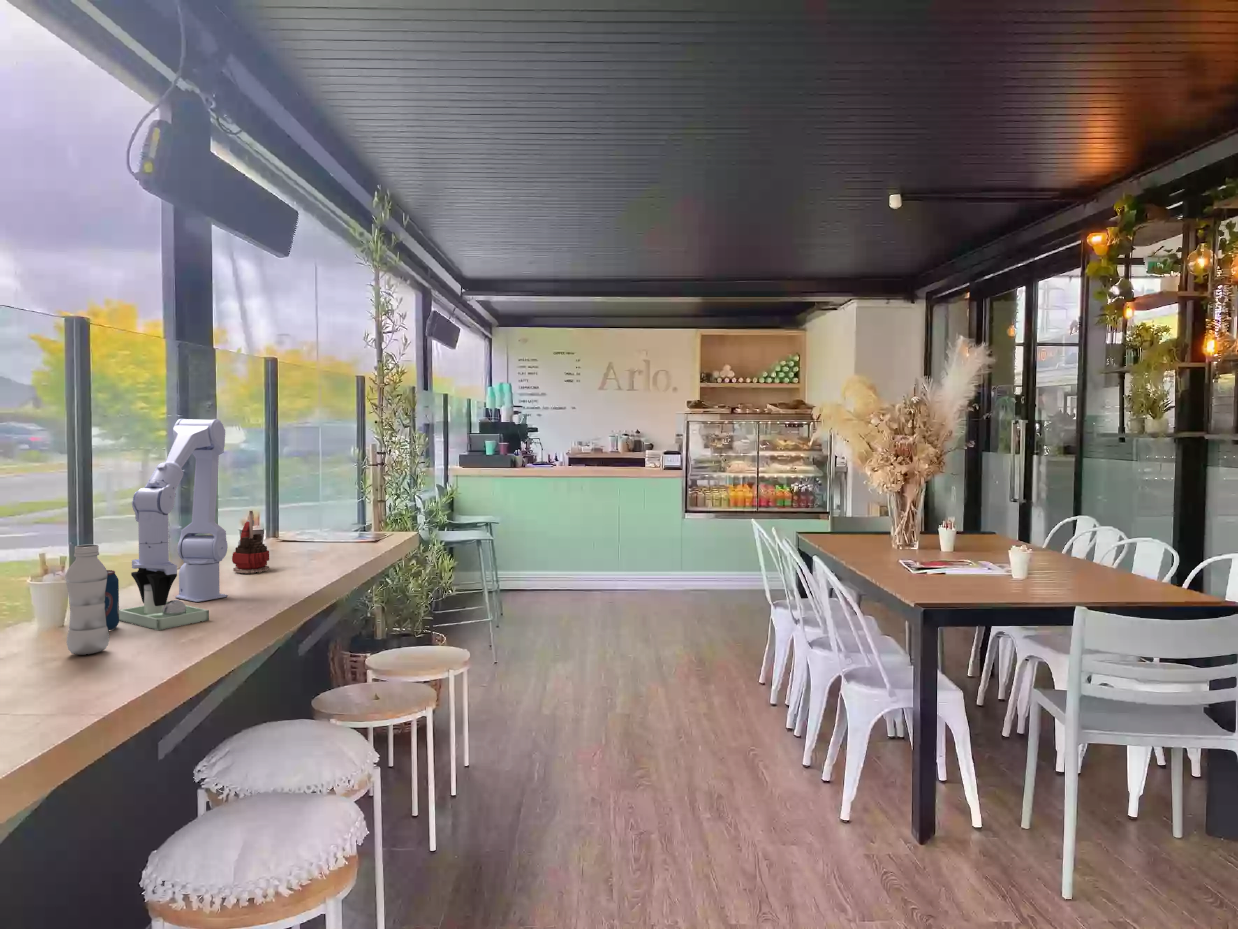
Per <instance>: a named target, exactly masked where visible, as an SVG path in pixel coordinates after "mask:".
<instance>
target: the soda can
mask: <svg viewBox="0 0 1238 929" xmlns="http://www.w3.org/2000/svg"><path fill="white" fill-rule="evenodd" d="M106 570H107V573H108V574H107V583H106V590H105V601H104V603H105V616H106V626H107V628H108V631H109V630H112V631H114V630H115V629H116V628H117V627H118V625H119V623H120V621H119V610H120V596H119V594H120V593H119V592H120V590H119V589H120V587H119V584H120V583H119V577H118V576H117V574H116V571H115V570H114V569H113V570H112V569H106ZM109 632H110V631H109Z"/></svg>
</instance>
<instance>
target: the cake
mask: <svg viewBox="0 0 1238 929" xmlns="http://www.w3.org/2000/svg"><path fill="white" fill-rule="evenodd" d="M248 513H249V519H246V521H245V523H244V525H243V526H242V529H241V533H240V538H239V540H238V542H237V543H238V544H237V546H236V547H235V549H234V550H235V551H233V552H232V556H231V559H232V560H231V562H232V563H233V564H234V565H235V567H233V572H235V573H240V574H243V573H245V574H244V575H247V574H248V573H249V575H251V574H252V573H253V574H257V573H256V572H260V573H262V571H263V572H267V571H268V570H270V566H269V565H268V561H270V551H269V550H268V547H267V545H266V544H265V543H263V541H262V540H263V536H262V534H261V533H254V530H253V529H254V525H255V520H254V519H253V518H254V517H253V516H254V515H253V514H254V512H253V510H249V512H248ZM250 573H251V574H250Z"/></svg>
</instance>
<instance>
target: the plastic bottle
mask: <svg viewBox="0 0 1238 929" xmlns="http://www.w3.org/2000/svg"><path fill="white" fill-rule="evenodd" d="M99 549H100V548H99V544H81V545H80V544H79V545H75V546H74V553H73V557H74V558H75V560H74V561H73V562H72V563H71V564H70V566H69V568H68V569H67V571H66V574H65V577H64V578H65V583H66V588H67V593H68V598H69V599H68V603H69V604H68V605H70V606H69V623H68V624H69V625H68V632H67V636H66V646H67V650H68V652H70V653H71V654H73V655H82V656H83V655H85V656H87V655H86V654H88V655H93V654H96V653H100V652H102V651H105V650H106V649H107V648H108V646H109V641H110V631H109V632H108V628H107V626H106V616H105V603H104V601H105V590H106V583H107V574H108V573H107V570H108V569H107V567H106V566H105V564H103V562H101V561H100V559H99V557H98V556H100V552H99Z"/></svg>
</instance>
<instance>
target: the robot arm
mask: <svg viewBox="0 0 1238 929" xmlns="http://www.w3.org/2000/svg"><path fill="white" fill-rule="evenodd" d="M172 431H173V433H172V434H173V440H174V441H173V443H172V445H171V448H170V451H169V453H168V455H167V458H166V459H165V461H163V462H160V463H158V464H157V465H156V467H155V469H154V470H153V472H152V474H151V475H150V477H149V478H148V480H147V482H146V484H145V486H144V487H141V488H139V490H137V491H135V492H134V494H133V496H132V501H131V506H132V510H133V512H134V516H135V522H136V523H138V526H137V527H138V558H137V559H132V560H131V569H133V570H136V569H138V570H137V571H132V572H130V575H131V577H132V578H133V580H134V582H135V583H136V586H137V588H138V591H139V594H140V598H141V601H142V603H143V604H144V585H145V584H151V587H152V592H153V601H154V604H155V606H161V605H165V604H166V602H168V598H169V594H170V591H171V587H172V585H173V583H174V581H175V579H176V578H177V576H178V594H177V595H175V598H176V599H180V600H185V601H190V602H194V603H195V602H196V603H199V602H205V601H211V600H217V599H222V598H227V597H228V594H225V593H220V591H221V590H220V588H221V587H220V562H222V561H223V560H224V559H225V557H226V555H227V552H228V541H227V530H225V528H223V527H222V526H221V525H219V524H218V523H216V509H217V492H218V491H217V490H218V479H219V478H218V476H219V459H220V455H222V454H223V453H224V452H225V446H226V445H225V444H226V429H225V427H224V424H223V422H222V421H221V420H220V419H218V418H213V419H194V418H193V419H189V418H188V419H187V418H179V419H177V421H176V422H175V424H174V426H173V428H172ZM191 455H192V456H193V458H195V467H194V468H195V469H194V471H195V472H194V482H193V483H194V484H193V485H194V486H193V499H192V516H191V522H190V523H189V524H188V525H186V526H185V527H184V528H182V529H181V530H180V537H179V540H178V543H177V554H178V557H179V558H180V559H181V560H182V562H183V564H182V565H181V566H180V568H179V571H178V565H177V564H175V563H173V562H171V561H170V550H169V549H170V547H169V544H170V542H169V541H170V540H169V539H170V538H169V532H170V531H169V529H170V528H169V514H170V513H171V512H172V511H173V509H174V506H175V498H176V495H177V494H176V490H177V488H178V486H179V484H181V480H182V479H183V477H184V471H183V469H182V468H183V467H184V465H185V464H186V463H187V461H188V460H189V458H190V457H191ZM197 534H199V535H197ZM200 534H210V535H200Z"/></svg>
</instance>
